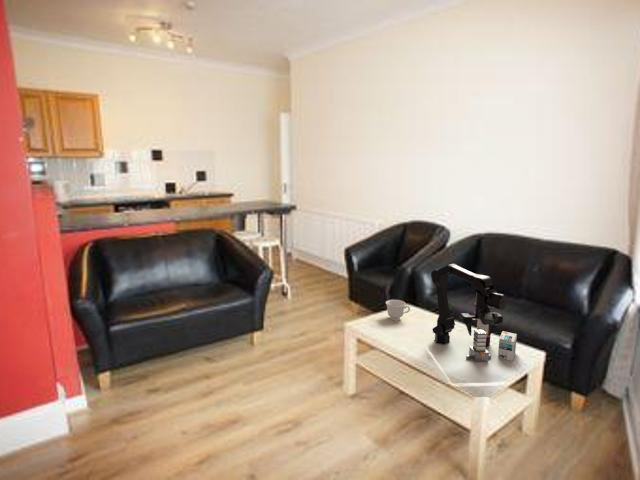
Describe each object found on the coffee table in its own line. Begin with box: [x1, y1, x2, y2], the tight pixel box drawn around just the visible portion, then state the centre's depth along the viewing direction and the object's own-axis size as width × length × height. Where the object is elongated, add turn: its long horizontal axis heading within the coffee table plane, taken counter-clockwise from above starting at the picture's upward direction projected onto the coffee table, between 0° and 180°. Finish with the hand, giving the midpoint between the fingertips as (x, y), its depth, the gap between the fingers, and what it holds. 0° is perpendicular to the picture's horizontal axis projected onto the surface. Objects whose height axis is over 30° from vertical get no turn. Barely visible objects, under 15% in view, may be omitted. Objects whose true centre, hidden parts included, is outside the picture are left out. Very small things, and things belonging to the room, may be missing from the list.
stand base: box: [465, 345, 492, 363], centre depth 187 cm, size 12×12×6 cm
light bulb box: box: [497, 330, 518, 362], centre depth 190 cm, size 11×7×11 cm, turn 148°
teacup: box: [385, 299, 411, 321], centre depth 237 cm, size 12×15×10 cm
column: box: [472, 329, 487, 352], centre depth 185 cm, size 4×4×10 cm
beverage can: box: [476, 320, 492, 348], centre depth 201 cm, size 6×6×15 cm
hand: (479, 335), depth 185 cm, fingers open, 9 cm apart
